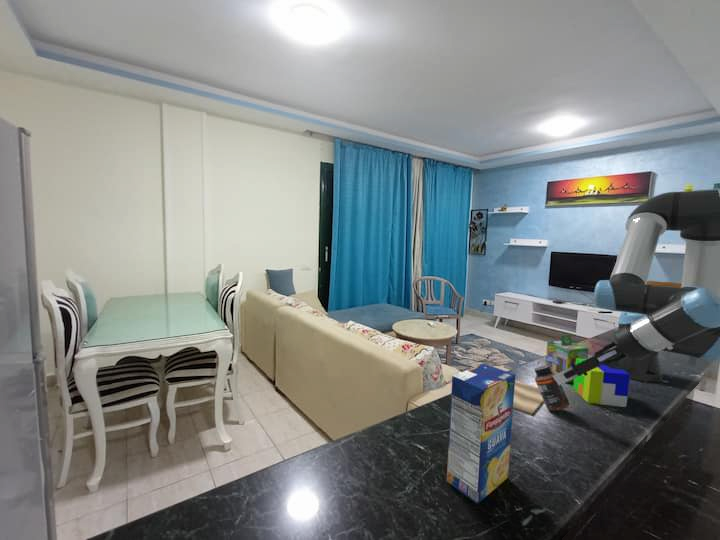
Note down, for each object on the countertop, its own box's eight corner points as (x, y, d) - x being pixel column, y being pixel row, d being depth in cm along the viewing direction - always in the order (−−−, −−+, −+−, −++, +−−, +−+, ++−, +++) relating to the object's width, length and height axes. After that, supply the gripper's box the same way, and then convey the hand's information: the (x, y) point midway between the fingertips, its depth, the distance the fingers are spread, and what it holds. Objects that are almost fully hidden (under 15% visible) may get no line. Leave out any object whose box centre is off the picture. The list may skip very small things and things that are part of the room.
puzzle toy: (626, 407, 96) (630, 374, 94) (587, 403, 98) (591, 370, 96) (607, 391, 105) (611, 361, 104) (573, 387, 107) (576, 358, 106)
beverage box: (446, 481, 66) (452, 376, 63) (477, 459, 72) (484, 363, 70) (477, 504, 60) (484, 390, 58) (507, 477, 67) (515, 374, 64)
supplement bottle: (568, 402, 94) (551, 362, 96) (572, 408, 88) (554, 366, 91) (546, 407, 96) (529, 368, 98) (549, 413, 90) (531, 371, 93)
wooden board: (510, 380, 111) (511, 379, 111) (550, 393, 103) (550, 391, 103) (488, 399, 98) (488, 397, 98) (531, 415, 90) (531, 413, 90)
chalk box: (566, 384, 110) (571, 341, 108) (543, 372, 118) (547, 332, 117) (586, 380, 113) (591, 338, 111) (562, 369, 121) (566, 330, 120)
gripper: (647, 358, 70) (555, 399, 85) (663, 348, 78) (576, 387, 93) (620, 327, 74) (536, 372, 89) (637, 320, 81) (558, 363, 96)
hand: (557, 380), depth 91 cm, fingers closed
